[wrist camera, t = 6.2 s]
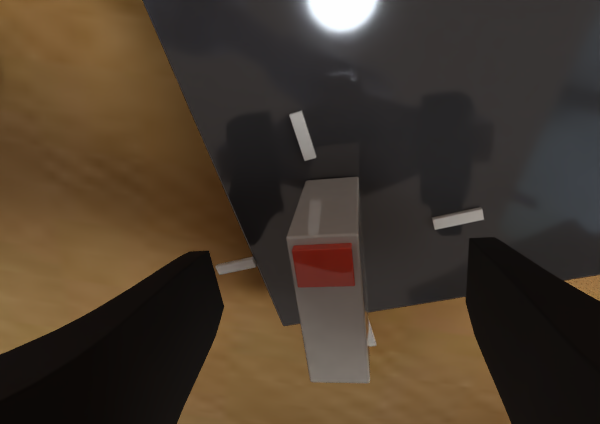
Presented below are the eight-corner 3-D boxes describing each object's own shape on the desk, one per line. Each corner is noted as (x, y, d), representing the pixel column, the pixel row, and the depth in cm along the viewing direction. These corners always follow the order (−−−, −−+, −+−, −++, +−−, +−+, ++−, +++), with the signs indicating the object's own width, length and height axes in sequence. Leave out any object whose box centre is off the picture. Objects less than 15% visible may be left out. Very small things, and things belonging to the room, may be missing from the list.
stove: (272, 323, 17) (261, 362, 15) (10, -266, 10) (-76, -336, 8) (691, 254, 13) (748, 293, 11) (777, -817, 6) (981, -1228, 4)
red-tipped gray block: (368, 299, 13) (370, 392, 10) (321, 300, 14) (309, 390, 10) (359, 175, 11) (358, 238, 8) (304, 180, 12) (283, 242, 8)
